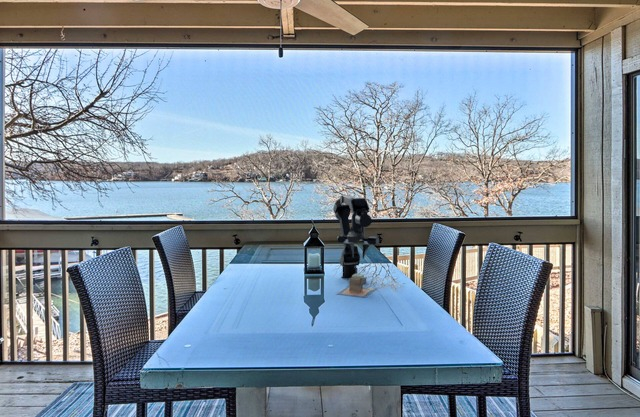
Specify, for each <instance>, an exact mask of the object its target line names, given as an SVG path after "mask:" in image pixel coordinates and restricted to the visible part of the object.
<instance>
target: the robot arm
mask: <svg viewBox="0 0 640 417" xmlns="http://www.w3.org/2000/svg"><path fill="white" fill-rule="evenodd" d="M332 209H333V213H334V216H335V218H336V219H337V220H338V221H339V225H340V232H341V234H340V235H338V236H337V238H336V241H337V243H342V244H343V249H342V251H341V255H340V256H341V257H340V258H339V265H340V266H341V267H342V276H341V279H348V280H349V279H350V278H351V277H352V275H354V274H358V267H357V266H359V265H360V261H361V255H362V259H365V257H366V254H367V252H368V250H369V248H370V246H371V245H378V244H379V243H380V238H379V236H371V235H370V236H369V237H366V235H365V229H366V228H368V227H369V226H371V224H372V222H373V221H372V220H373V219H372V217H371V215H369V213H370V206H369V204H368V201H367V199H366V197H363V196H361V197H355V196H351V195H349V194H342V195H340V197H339V199H337V200H336V201H335V202H334V205H333V208H332ZM350 215H351V225H350V220H349V218H350ZM359 242H360V243H361V242H362V243H363V244H362V254H361V255H360V252H359V249H358V248H359V247H358V246H357V245H355V244H357V243H359Z"/></svg>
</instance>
